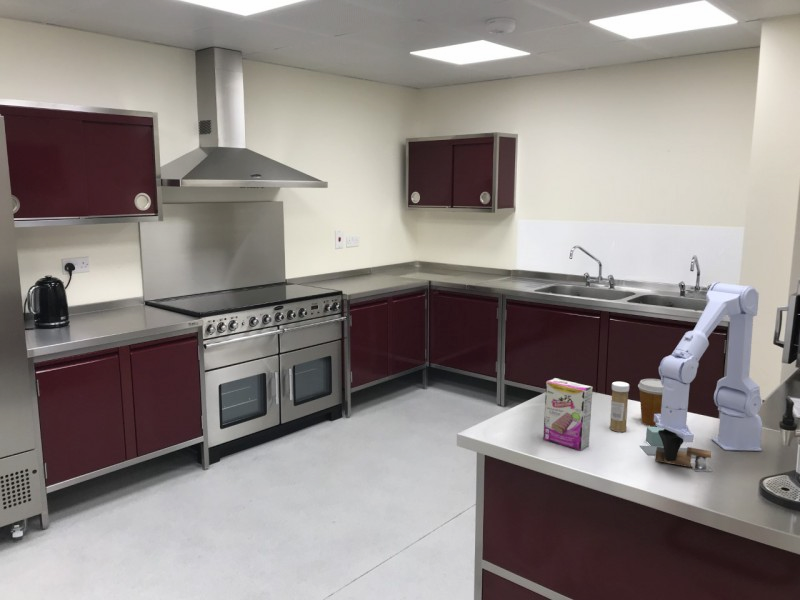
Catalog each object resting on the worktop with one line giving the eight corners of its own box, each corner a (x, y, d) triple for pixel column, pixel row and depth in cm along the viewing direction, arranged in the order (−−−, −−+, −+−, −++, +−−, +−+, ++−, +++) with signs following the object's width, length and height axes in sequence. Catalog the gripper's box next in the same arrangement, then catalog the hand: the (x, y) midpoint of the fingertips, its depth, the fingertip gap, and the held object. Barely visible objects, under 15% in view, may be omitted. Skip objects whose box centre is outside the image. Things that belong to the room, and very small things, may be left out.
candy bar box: (542, 440, 166) (544, 381, 164) (551, 435, 170) (554, 377, 167) (580, 451, 159) (584, 389, 156) (589, 446, 162) (593, 385, 160)
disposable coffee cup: (649, 415, 186) (652, 376, 185) (677, 425, 178) (681, 384, 177) (628, 420, 182) (631, 381, 180) (656, 431, 174) (659, 389, 172)
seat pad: (662, 446, 162) (662, 446, 162) (672, 455, 156) (672, 455, 156) (639, 446, 163) (639, 445, 163) (647, 455, 157) (647, 454, 157)
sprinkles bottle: (629, 430, 174) (632, 384, 172) (619, 433, 171) (622, 386, 169) (616, 425, 178) (619, 380, 176) (605, 428, 175) (608, 382, 173)
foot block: (660, 441, 166) (661, 427, 166) (666, 447, 162) (667, 432, 162) (645, 441, 166) (646, 426, 166) (651, 446, 162) (652, 432, 162)
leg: (709, 465, 150) (711, 450, 149) (709, 470, 147) (711, 455, 147) (656, 456, 155) (657, 441, 155) (655, 460, 152) (656, 445, 152)
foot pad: (691, 448, 161) (691, 448, 161) (701, 458, 155) (701, 457, 155) (668, 448, 161) (668, 447, 161) (677, 457, 155) (677, 456, 155)
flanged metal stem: (705, 464, 151) (706, 452, 151) (712, 471, 147) (713, 458, 147) (688, 464, 151) (689, 451, 151) (695, 471, 147) (696, 458, 147)
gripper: (643, 397, 155) (640, 449, 157) (674, 416, 140) (670, 473, 142) (670, 396, 155) (666, 448, 157) (704, 415, 141) (699, 472, 143)
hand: (670, 460), depth 150 cm, fingers closed, pressing on leg
